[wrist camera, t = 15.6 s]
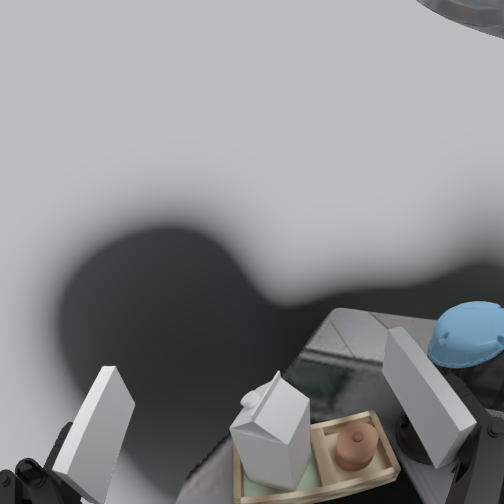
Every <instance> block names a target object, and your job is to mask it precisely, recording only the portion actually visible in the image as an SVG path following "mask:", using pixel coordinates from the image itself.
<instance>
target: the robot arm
mask: <svg viewBox="0 0 504 504" xmlns="http://www.w3.org/2000/svg"><path fill="white" fill-rule="evenodd" d="M417 1H418V2H420V3H421V4H422V5H424V6H425V7H427V8H429V9H430V10H432V11H434V12H435V13H437V14H439V15H441V16H443V17H445V18H447V19H449V20H451V21H454V22H457V23H459V24H461V25H464V26H467V27H469V28H472V29H475V30H478V31H480V32H483V33H486V34H489V35H492V36H496V37H499V38H502V39H504V0H417ZM382 373H383V374H384V376H385V378H386V379H387V381H388V383H389V384H390V386H391V388H392V390H393V391H394V393H395V395H396V397H397V398H398V400H399V402H400V404H401V405H402V407H403V411H402V412H401V415H400V417H399V420H398V423H397V428H396V436H397V441H398V443H399V445H400V447H401V449H402V450H403V451H404V452H405V453H406V454H407V455H408V456H409V457H410V458H412V459H414V460H416V461H418V462H421V463H425V464H434V466H435V468H436V469H438V468H441V467H443V466H445V465H447V464H448V463H450V462H452V461H453V460H454V459H456V458H458V457H459V459H460V460H459V461H458V463H457V464H456V465H455V467H454V468H453V470H452V473H454V471H455V470H456V472H455V475H454V478H453V481H452V485H451V488H450V491H449V494H448V497H447V499H446V502H445V504H504V420H503V419H501V418H498V417H494V418H492V417H491V416H490V415H489V414H488V412H487V411H486V410H485V408H487V409H492V410H497V411H502V412H504V308H503V309H501V307H500V305H497V304H494V303H490V302H468V303H464V304H460V305H458V306H456V307H453V308H451V309H449V310H448V311H447V312H445V313H444V314H443V315H442V316H441V317H440V318H439V320H438V321H437V323H436V325H435V328H434V332H433V335H432V339H431V341H430V343H429V345H428V356H426V355H425V353H424V352H423V351H422V350H421V348H420V347H419V346H418V345H417V344H416V342H415V341H414V340H413V339H412V338H411V336H410V335H409V334H408V333H407V332H406V330H405V329H404V328H403V327H402V326H398V327H394V328H391V329H388V331H387V340H386V348H385V355H384V362H383V369H382ZM134 406H135V403H134V401H133V399H132V397H131V395H130V394H129V392H128V390H127V388H126V386H125V384H124V382H123V381H122V378H121V376H120V375H119V372H118V370H117V369H116V366H103V367H102V369H101V371H100V373H99V374H98V376H97V378H96V380H95V382H94V384H93V385H92V387H91V389H90V391H89V393H88V395H87V397H86V399H85V401H84V403H83V405H82V407H81V409H80V411H79V413H78V415H77V417H76V419H75V421H74V423H73V422H68V423H67V424H66V425H65V426H64V427H63V428H62V430H61V432H60V434H59V436H58V439H57V440H56V442H55V446H53V448H52V450H51V452H50V454H49V457H48V459H47V461H46V463H45V465H44V467H43V468H42V467H41V466H40V465H39V464H38V463H37V462H36V461H35V460H33V459H31V458H25V459H23V460H21V461H20V462H19V463H18V464H17V465H16V468H15V474H16V475H17V476H16V475H15V474H14V473H13V472H12V471H10V470H6V469H5V470H2V471H1V472H0V504H82V502H81V501H80V500H81V497H83V498H84V499H85V500H87V501H88V502H90V503H94V504H104V502H105V499H106V495H107V491H108V488H109V484H110V481H111V478H112V474H113V471H114V468H115V464H116V461H117V457H118V455H119V451H120V448H121V445H122V442H123V439H124V436H125V433H126V430H127V427H128V424H129V420H130V418H131V415H132V412H133V409H134Z"/></svg>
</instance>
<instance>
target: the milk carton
mask: <svg viewBox="0 0 504 504" xmlns="http://www.w3.org/2000/svg"><path fill="white" fill-rule="evenodd" d="M241 404H242V405H243V406H244V408H243V409H242V411H241V412H240V414H239V415H238V416H237V418H236V419H235V421H234V422H233V424H232V425H231V426H230V432H231V435H232V438H233V440H234V443H235V446H236V448H237V451H238V454H239V456H240V459H241V462H242V464H243V467H244V469H245V472H246V474H247V477H248V479H249V481H251V482H254V483H257V484H260V485H264V486H267V487H270V488H274V489H277V490H281V491H285V492H289V493H290V492H295V491H296V489H297V487H298V485H299V483H300V481H301V478H302V476H303V474H304V472H305V470H306V468H307V465H308V463H309V461H310V458H311V449H310V403H309V398H307V397H306V396H305V395H303V394H302V393H300V392H299V391H298V390H296V389H295V388H294V387H292V386H291V385H290V384H288V383H287V382H286V381H284V380H283V379H282V378H281V376H280V371H278V372H277V374H276V375H275V377H274V379H273V380H272V381H271V382H269V383H267V384H265V385H263V386H260V387H259V388H257V389H256V390H255V391H251V392H249V393H247V394H246V395H245V396H244V397H243V399H242V400H241Z"/></svg>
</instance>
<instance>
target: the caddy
mask: <svg viewBox="0 0 504 504" xmlns="http://www.w3.org/2000/svg"><path fill="white" fill-rule="evenodd" d="M310 449H311V458H310V461H309V463H308V465H307V468H306V470H305V472H304V474H303V476H302V478H301V481H300V483H299V485H298V487H297V489H296V491H295V492H290V493H289V492H285V491H281V490H277V489H274V488H270V487H267V486H264V485H260V484H257V483H254V482H251V481H249V479H248V477H247V474H246V472H245V469H244V467H243V464H242V462H241V459H240V456H239V454H238V451H237V448H236V446H235V443H234V440H233V496H234V504H312V503H317V502H322V501H327V500H331V499H336V498H340V497H344V496H348V495H351V494H355V493H358V492H362V491H365V490H369V489H372V488H375V487H378V486H381V485H384V484H387V483H390V482H392V481H395V480H396V478H397V476H398V474H399V472H400V471H401V468H400V466H399V463H398V461H397V459H396V457H395V454H394V452H393V450H392V448H391V445H390V443H389V441H388V439H387V437H386V434H385V432H384V430H383V428H382V426H381V424H380V421H379V419H378V417H377V415H376V413H375V411H374V409H373V410H370V411H366V412H363V413H359V414H355V415H352V416H348V417H344V418H340V419H335V420H331V421H327V422H322V423H317V424H312V425H310Z"/></svg>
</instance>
